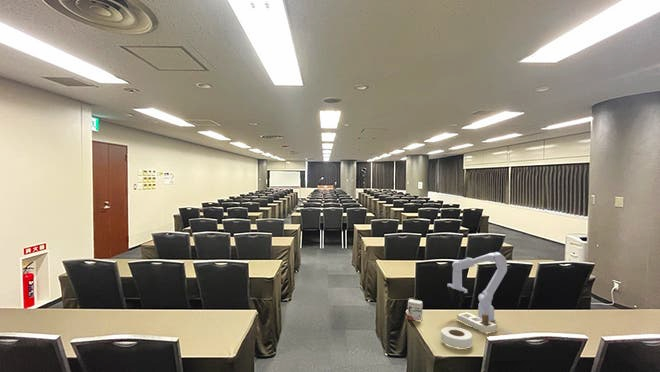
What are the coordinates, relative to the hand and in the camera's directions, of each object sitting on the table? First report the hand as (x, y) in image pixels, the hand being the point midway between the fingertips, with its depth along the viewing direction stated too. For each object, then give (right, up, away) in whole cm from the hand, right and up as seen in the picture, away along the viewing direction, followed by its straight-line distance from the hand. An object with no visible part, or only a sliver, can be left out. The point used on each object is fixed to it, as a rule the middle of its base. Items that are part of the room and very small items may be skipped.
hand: (457, 300), depth 212 cm
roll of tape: (-14, -11, -35) cm, 39 cm away
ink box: (-29, -11, -5) cm, 31 cm away
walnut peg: (+9, -9, -20) cm, 24 cm away
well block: (+6, -11, -14) cm, 19 cm away
